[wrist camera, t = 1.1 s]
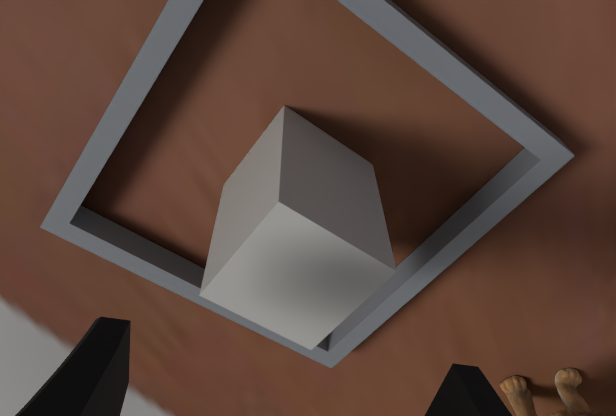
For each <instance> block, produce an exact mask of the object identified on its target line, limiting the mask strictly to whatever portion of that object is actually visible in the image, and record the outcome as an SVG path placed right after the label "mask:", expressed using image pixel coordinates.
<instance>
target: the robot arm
mask: <svg viewBox="0 0 616 416" xmlns="http://www.w3.org/2000/svg"><path fill="white" fill-rule="evenodd" d="M129 353H130V321H129V320H121V319H114V318H106V317H100V318H98V319H96V320H95V321H94V323H93V324H92V326H91V327H90V328H89V330H88V331H87V333H86V334H85V335H84V337H83V338H82V339H81V341H80V342H79V343H78V344H77V346H76V347H75V348H74V349H73V351H72V352H71V353H70V354H69V356H68V357H67V358H66V359H65V361H64V362H63V363H62V364H61V366H60V367H59V368H58V369H57V370H56V371H55V372H54V374H53V375H52V376H51V377H50V378H49V379H48V380H47V382H46V383H45V384H44V385H43V386H42V387H41V388H40V389H39V391H38V392H37V393H36V394H35V395H34V396H33V397H32V398H31V400H30V401H29V402H28V403H27V404H26V405H25V406H24V407H23V408H22V409H21V410H20V411H19V412H18V413H17V414H16V415H15V416H120V413H121V409H122V405H123V402H124V398H125V394H126V390H127V386H128V383H129ZM425 416H512V415H511V414H510V412H509V411H508V409H507V408H506V406H505V405H504V403H503V402H502V401H501V399H500V398H499V396H498V395H497V393H496V392H495V390H494V389H493V387H492V386H491V385H490V383H489V382H488V380H487V379H486V377H485V376H484V374H483V373H482V372H481V370H480V369H479V367H475V366H468V365H460V364H452V366H451V368H450V370H449V372H448V373H447V375H446V377H445V379H444V381H443V383H442V385H441V386H440V388H439V390H438V392H437V394H436V396H435V398H434V399H433V401H432V403H431V405H430V407H429V409H428V411H427V412H426V414H425Z"/></svg>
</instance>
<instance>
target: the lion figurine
mask: <svg viewBox="0 0 616 416" xmlns="http://www.w3.org/2000/svg"><path fill="white" fill-rule="evenodd" d="M581 381H582V378H581V376H580V374H579V373H578V371H577V370H575V369H573V368H566V369H561V370H559V371H558V373H557V374H556V376H555V386H556V388H557V390H558V392H559V395H560V397H561V399H562V401H563V403H564V404H565V406H566V407H567V408H568V409H565V410H560V411H557V412H556V413H553V414H551V415H550V416H605V415H604V414H601V413H595V412H594V411H592V410H591V409H590V408H589V406H588V405H587V403H586V402H585V400H584V399H583V398H582V397H581V396H580V395H579V393H578V392H577V390H576V387H577V385H579V384H580V383H581ZM500 387H501V389H502V390H503V391H504V392H505V394H506V395H507V397H508V399H509V401H510V403H511V405H512V407H513V409H514V411H515V413H516V416H537V414H536V412H535V408H534V403H533V398H532V395H531V392H530V391H529V390H528V389H527V384H526V381H525V380H524V379H523V378H522V377H520V376H515V375H514V376H512V377H508V378H507V379H505V380H504V381H502V382H501V383H500Z"/></svg>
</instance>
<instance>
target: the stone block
mask: <svg viewBox="0 0 616 416" xmlns="http://www.w3.org/2000/svg"><path fill="white" fill-rule="evenodd" d="M396 272H397V271H396V266H395V262H394V257H393V253H392V248H391V244H390V239H389V235H388V230H387V226H386V221H385V217H384V212H383V208H382V204H381V199H380V195H379V190H378V186H377V181H376V177H375V172H374V168H373V164H371V163H370V162H368V161H367V160H365V159H364V158H362V157H361V156H359V155H358V154H356V153H355V152H353V151H352V150H350V149H349V148H347V147H346V146H344V145H343V144H341V143H340V142H338V141H337V140H335V139H334V138H332V137H331V136H329V135H328V134H326V133H325V132H324V131H322V130H321V129H319V128H318V127H316V126H315V125H313V124H312V123H310V122H309V121H307V120H306V119H304V118H303V117H301V116H300V115H298V114H297V113H295V112H294V111H292V110H291V109H289V108H288V107H286V106H285V105H284V106H283V108H282V109H281V110H280V112H279V113H278V114H277V115H276V117H275V118H274V119H273V121H272V122H271V123H270V125H269V126H268V127H267V129H266V130H265V131H264V133H263V134H262V135H261V137H260V138H259V139H258V140H257V142H256V143H255V144H254V146H253V147H252V148H251V150H250V151H249V152H248V154H247V155H246V156H245V158H244V159H243V160H242V162H241V163H240V164H239V166H238V167H237V168H236V169H235V171H234V172H233V173H232V175H231V176H230V177H229V179H228V180H227V181H226V183H225V184H224V186H223V191H222V195H221V200H220V204H219V209H218V213H217V218H216V222H215V227H214V231H213V236H212V240H211V245H210V249H209V254H208V258H207V263H206V267H205V272H204V276H203V281H202V285H201V290H200V294H199V296H201V297H203V298H205V299H208V300H210V301H212V302H214V303H216V304H218V305H220V306H222V307H224V308H226V309H228V310H230V311H232V312H234V313H236V314H238V315H240V316H242V317H244V318H246V319H248V320H250V321H252V322H255V323H257V324H259V325H261V326H263V327H265V328H267V329H269V330H271V331H273V332H275V333H277V334H279V335H281V336H283V337H285V338H287V339H289V340H291V341H293V342H295V343H297V344H299V345H302V346H304V347H306V348H308V349H310V350H312V349H313V348H314V347H315V346H316V345H318V344H319V343H320V342H321V341H322V340H323V339H324V338H325V337H326V336H327V335H328V334H329V333H331V332H332V331H333V330H334V329H335V328H336V327H337V326H338V325H339V324H340V323H341V322H342V321H344V320H345V319H346V318H347V317H348V316H349V315H350V314H351V313H352V312H353V311H354V310H355V309H357V308H358V307H359V306H360V305H361V304H362V303H363V302H364V301H365V300H366V299H367V298H368V297H370V296H371V295H372V294H373V293H374V292H375V291H376V290H377V289H378V288H379V287H380V286H381V285H383V284H384V283H385V282H386V281H387V280H388V279H389V278H390V277H391V276H392V275H393V274H395V273H396Z"/></svg>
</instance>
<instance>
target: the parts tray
mask: <svg viewBox="0 0 616 416" xmlns="http://www.w3.org/2000/svg"><path fill="white" fill-rule="evenodd" d="M337 1H339V2H340V3H341V4H343V5H344V6H345V7H346V8H348V9H349V10H350V11H351V12H353V13H354V14H355V15H357V16H358V17H359V18H360V19H362V20H363V21H364V22H366V23H367V24H368V25H369V26H371V27H372V28H373V29H374V30H376V31H377V32H378V33H380V34H381V35H382V36H383V37H385V38H386V39H387V40H388V41H390V42H391V43H392V44H394V45H395V46H396V47H397V48H399V49H400V50H401V51H402V52H404V53H405V54H406V55H408V56H409V57H410V58H411V59H413V60H414V61H415V62H417V63H418V64H419V65H420V66H422V67H423V68H424V69H425V70H427V71H428V72H429V73H431V74H432V75H433V76H434V77H436V78H437V79H438V80H439V81H441V82H442V83H443V84H445V85H446V86H447V87H448V88H450V89H451V90H452V91H453V92H455V93H456V94H457V95H459V96H460V97H461V98H462V99H464V100H465V101H466V102H468V103H469V104H470V105H471V106H473V107H474V108H475V109H476V110H478V111H479V112H480V113H482V114H483V115H484V116H485V117H487V118H488V119H489V120H490V121H492V122H493V123H494V124H496V125H497V126H498V127H499V128H501V129H502V130H503V131H504V132H506V133H507V134H508V135H510V136H511V137H512V138H513V139H515V140H516V141H517V142H519V143H520V144H521V145H522V146H524V147H525V148H524V149H523V150H522V151H521V152H520V153H519V154H517V155H516V156H515V157H514V158H513V159H512V160H511V161H510V162H509V163H508V164H507V165H506V166H505V167H503V168H502V169H501V170H500V171H499V172H498V173H497V174H496V175H495V176H494V177H493V178H492V179H491V180H489V181H488V182H487V183H486V184H485V185H484V186H483V187H482V188H481V189H480V190H479V191H478V192H477V193H476V194H474V195H473V196H472V197H471V198H470V199H469V200H468V201H467V202H466V203H465V204H464V205H463V206H462V207H460V208H459V209H458V210H457V211H456V212H455V213H454V214H453V215H452V216H451V217H450V218H449V219H448V220H446V221H445V222H444V223H443V224H442V225H441V226H440V227H439V228H438V229H437V230H436V231H435V232H434V233H432V234H431V235H430V236H429V237H428V238H427V239H426V240H425V241H424V242H423V243H422V244H421V245H420V246H419V247H417V248H416V249H415V250H414V251H413V252H412V253H411V254H410V255H409V256H408V257H407V258H406V259H405V260H403V261H402V262H401V263H400V264H399V265H398V266H397V267H396V271H397V272H396V273H395V274H393V275H392V276H391V277H390V278H389V279H388V280H387V281H386V282H385V283H384V284H383V285H381V286H380V287H379V288H378V289H377V290H376V291H375V292H374V293H373V294H372V295H371V296H370V297H368V298H367V299H366V300H365V301H364V302H363V303H362V304H361V305H360V306H359V307H358V308H357V309H355V310H354V311H353V312H352V313H351V314H350V315H349V316H348V317H347V318H346V319H345V320H344V321H342V322H341V323H340V324H339V325H338V326H337V327H336V328H335V329H334V330H333V331H332V332H331V333H329V334H328V335H327V336H326V337H325V338H324V339H323V340H322V341H321V342H320V343H319V344H318V345H316V346H315V347H314V348H313V349H312V350H310V349H308V348H306V347H304V346H302V345H299V344H297V343H295V342H293V341H291V340H289V339H287V338H285V337H283V336H281V335H279V334H277V333H275V332H273V331H271V330H269V329H267V328H265V327H263V326H261V325H259V324H257V323H255V322H252V321H250V320H248V319H246V318H244V317H242V316H240V315H238V314H236V313H234V312H232V311H230V310H228V309H226V308H224V307H222V306H220V305H218V304H216V303H214V302H212V301H210V300H208V299H205V298H203V297H201V296H199V294H200V290H201V285H202V281H203V276H204V272H205V269H204V268H202V267H200V266H198V265H196V264H194V263H192V262H190V261H188V260H186V259H184V258H183V257H181V256H179V255H177V254H175V253H173V252H171V251H169V250H167V249H165V248H163V247H161V246H159V245H157V244H155V243H153V242H151V241H149V240H147V239H145V238H143V237H142V236H140V235H138V234H136V233H134V232H132V231H130V230H128V229H126V228H124V227H122V226H120V225H118V224H116V223H114V222H112V221H110V220H108V219H106V218H104V217H102V216H101V215H99V214H97V213H95V212H93V211H91V210H89V209H87V208H85V207H83V206H81V203H82V202H83V200H84V198H85V197H86V195H87V193H88V192H89V190H90V188H91V187H92V185H93V183H94V182H95V180H96V178H97V177H98V175H99V173H100V172H101V170H102V168H103V167H104V165H105V163H106V162H107V160H108V158H109V157H110V155H111V153H112V152H113V150H114V148H115V147H116V145H117V143H118V142H119V140H120V138H121V137H122V135H123V133H124V132H125V130H126V128H127V127H128V125H129V123H130V122H131V120H132V118H133V117H134V115H135V113H136V112H137V110H138V108H139V107H140V105H141V103H142V102H143V100H144V98H145V97H146V95H147V93H148V92H149V90H150V88H151V87H152V85H153V83H154V82H155V80H156V78H157V77H158V75H159V73H160V72H161V70H162V68H163V67H164V65H165V63H166V62H167V60H168V58H169V57H170V55H171V53H172V52H173V50H174V49H175V47H176V45H177V44H178V42H179V40H180V39H181V37H182V35H183V34H184V32H185V30H186V29H187V27H188V25H189V24H190V22H191V20H192V19H193V17H194V15H195V14H196V12H197V10H198V9H199V7H200V5H201V4H202V2H203V0H168V2H167V4H166V6H165V8H164V9H163V11H162V13H161V15H160V16H159V18H158V20H157V22H156V23H155V25H154V27H153V29H152V30H151V32H150V34H149V36H148V38H147V39H146V41H145V43H144V45H143V46H142V48H141V50H140V52H139V53H138V55H137V57H136V59H135V61H134V62H133V64H132V66H131V68H130V69H129V71H128V73H127V75H126V76H125V78H124V80H123V82H122V83H121V85H120V87H119V89H118V91H117V92H116V94H115V96H114V98H113V99H112V101H111V103H110V105H109V106H108V108H107V110H106V112H105V114H104V115H103V117H102V119H101V121H100V122H99V124H98V126H97V128H96V129H95V131H94V133H93V135H92V136H91V138H90V140H89V142H88V144H87V145H86V147H85V149H84V151H83V152H82V154H81V156H80V158H79V159H78V161H77V163H76V165H75V166H74V168H73V170H72V172H71V174H70V175H69V177H68V179H67V181H66V182H65V184H64V186H63V188H62V189H61V191H60V193H59V195H58V197H57V198H56V200H55V202H54V204H53V205H52V207H51V209H50V211H49V212H48V214H47V216H46V218H45V219H44V221H43V223H42V225H41V227H40V228H42V229H44V230H47V231H49V232H51V233H53V234H55V235H57V236H59V237H61V238H63V239H65V240H67V241H69V242H71V243H73V244H75V245H77V246H80V247H82V248H84V249H86V250H88V251H90V252H92V253H94V254H96V255H98V256H100V257H102V258H104V259H106V260H108V261H111V262H113V263H115V264H117V265H119V266H121V267H123V268H125V269H127V270H129V271H131V272H133V273H135V274H137V275H139V276H141V277H144V278H146V279H148V280H150V281H152V282H154V283H156V284H158V285H160V286H162V287H164V288H166V289H168V290H170V291H172V292H174V293H177V294H179V295H181V296H183V297H185V298H187V299H189V300H191V301H193V302H195V303H197V304H199V305H201V306H203V307H205V308H208V309H210V310H212V311H214V312H216V313H218V314H220V315H222V316H224V317H226V318H228V319H230V320H232V321H234V322H236V323H238V324H241V325H243V326H245V327H247V328H249V329H251V330H253V331H255V332H257V333H259V334H261V335H263V336H265V337H267V338H269V339H271V340H274V341H276V342H278V343H280V344H282V345H284V346H286V347H288V348H290V349H292V350H294V351H296V352H298V353H300V354H302V355H305V356H307V357H309V358H311V359H313V360H315V361H317V362H319V363H321V364H323V365H325V366H327V367H329V368H332V367H334V366H335V365H336V364H337V363H338V362H339V361H340V360H342V359H343V358H344V357H345V356H346V355H347V354H348V353H350V352H351V351H352V350H353V349H354V348H355V347H356V346H358V345H359V344H360V343H361V342H362V341H363V340H364V339H366V338H367V337H368V336H369V335H370V334H371V333H373V332H374V331H375V330H376V329H377V328H378V327H379V326H381V325H382V324H383V323H384V322H385V321H386V320H387V319H389V318H390V317H391V316H392V315H393V314H394V313H395V312H397V311H398V310H399V309H400V308H401V307H402V306H403V305H405V304H406V303H407V302H408V301H409V300H410V299H411V298H413V297H414V296H415V295H416V294H417V293H418V292H419V291H421V290H422V289H423V288H424V287H425V286H426V285H427V284H429V283H430V282H431V281H432V280H433V279H434V278H435V277H437V276H438V275H439V274H440V273H441V272H442V271H443V270H445V269H446V268H447V267H448V266H449V265H450V264H451V263H453V262H454V261H455V260H456V259H457V258H458V257H459V256H461V255H462V254H463V253H464V252H465V251H466V250H467V249H469V248H470V247H471V246H472V245H473V244H474V243H475V242H477V241H478V240H479V239H480V238H481V237H482V236H483V235H485V234H486V233H487V232H488V231H489V230H490V229H491V228H493V227H494V226H495V225H496V224H497V223H498V222H499V221H501V220H502V219H503V218H504V217H505V216H506V215H508V214H509V213H510V212H511V211H512V210H513V209H514V208H516V207H517V206H518V205H519V204H520V203H521V202H522V201H524V200H525V199H526V198H527V197H528V196H529V195H530V194H532V193H533V192H534V191H535V190H536V189H537V188H538V187H540V186H541V185H542V184H543V183H544V182H545V181H546V180H548V179H549V178H550V177H551V176H552V175H553V174H554V173H556V172H557V171H558V170H559V169H560V168H561V167H562V166H564V165H565V164H566V163H567V162H568V161H569V160H570V159H572V158H573V157H574V156H575V155H574V154H573V153H572V152H571V151H570V150H569V148H568V147H567V146H566V145H565V144H564V143H563V142H562V140H561V139H559V138H558V137H557V136H556V135H555V134H553V133H552V132H551V131H550V130H549V129H547V128H546V127H545V126H544V125H542V124H541V123H540V122H539V121H538V120H536V119H535V118H534V117H533V116H531V115H530V114H529V113H528V112H527V111H525V110H524V109H523V108H522V107H520V106H519V105H518V104H517V103H516V102H514V101H513V100H512V99H511V98H509V97H508V96H507V95H506V94H505V93H503V92H502V91H501V90H500V89H499V88H497V87H496V86H495V85H494V84H492V83H491V82H490V81H489V80H488V79H486V78H485V77H484V76H483V75H481V74H480V73H479V72H478V71H477V70H475V69H474V68H473V67H472V66H470V65H469V64H468V63H467V62H466V61H464V60H463V59H462V58H461V57H459V56H458V55H457V54H456V53H455V52H453V51H452V50H451V49H450V48H448V47H447V46H446V45H445V44H444V43H442V42H441V41H440V40H439V39H438V38H436V37H435V36H434V35H433V34H431V33H430V32H429V31H428V30H427V29H425V28H424V27H423V26H422V25H420V24H419V23H418V22H417V21H416V20H414V19H413V18H412V17H411V16H409V15H408V14H407V13H406V12H405V11H403V10H402V9H401V8H400V7H398V6H397V5H396V4H395V3H394V2H392V1H391V0H337Z"/></svg>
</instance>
